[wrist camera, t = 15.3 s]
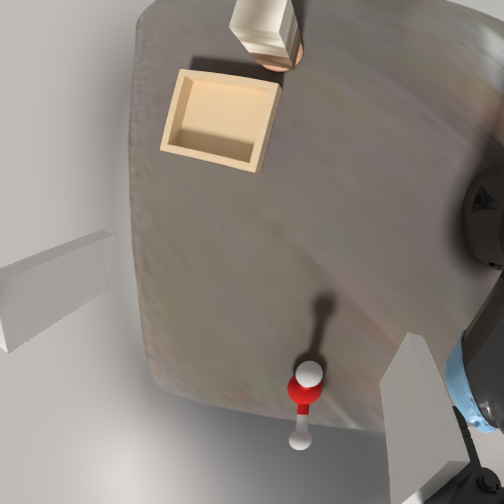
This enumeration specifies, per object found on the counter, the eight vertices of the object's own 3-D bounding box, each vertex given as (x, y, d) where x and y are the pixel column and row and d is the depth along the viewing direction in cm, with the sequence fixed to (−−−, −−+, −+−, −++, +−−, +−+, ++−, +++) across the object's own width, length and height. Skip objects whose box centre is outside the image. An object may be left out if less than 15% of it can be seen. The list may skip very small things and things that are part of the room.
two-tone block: (301, 38, 35) (288, -7, 22) (294, 69, 36) (278, 32, 24) (265, 33, 35) (240, -11, 23) (258, 63, 37) (229, 27, 25)
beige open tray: (282, 89, 38) (278, 83, 35) (260, 172, 42) (255, 172, 39) (190, 75, 41) (180, 69, 37) (171, 150, 44) (159, 150, 41)
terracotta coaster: (290, 26, 35) (289, 23, 34) (311, 61, 36) (310, 58, 35) (250, 45, 37) (247, 42, 36) (269, 79, 38) (267, 77, 37)
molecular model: (324, 414, 50) (320, 454, 41) (292, 413, 52) (283, 453, 43) (324, 333, 46) (321, 371, 37) (287, 333, 48) (275, 371, 38)
